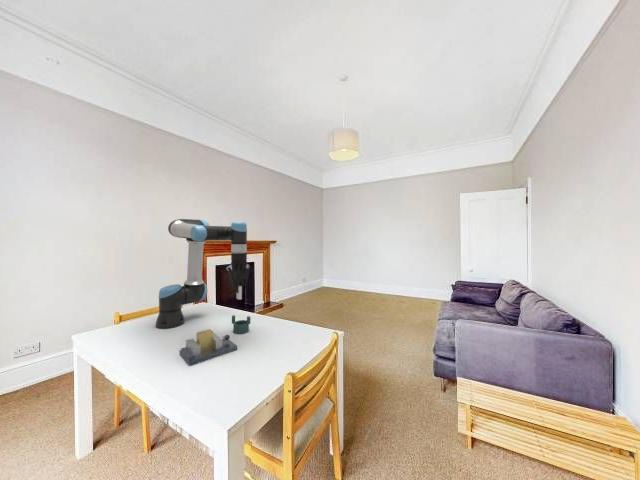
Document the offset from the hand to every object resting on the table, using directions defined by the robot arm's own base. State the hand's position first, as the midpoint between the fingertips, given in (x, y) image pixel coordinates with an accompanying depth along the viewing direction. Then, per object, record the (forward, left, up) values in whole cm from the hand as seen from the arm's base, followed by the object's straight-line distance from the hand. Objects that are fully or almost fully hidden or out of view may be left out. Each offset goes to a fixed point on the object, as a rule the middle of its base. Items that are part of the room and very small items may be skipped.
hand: (239, 298), depth 126 cm
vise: (0, -15, -22) cm, 27 cm away
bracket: (-13, +8, -23) cm, 27 cm away
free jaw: (0, -9, -20) cm, 22 cm away
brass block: (0, -17, -20) cm, 26 cm away
